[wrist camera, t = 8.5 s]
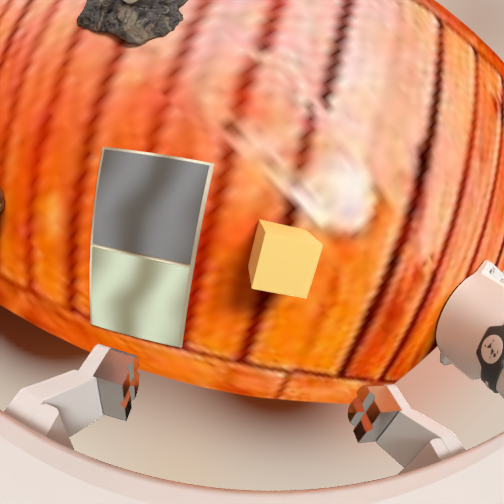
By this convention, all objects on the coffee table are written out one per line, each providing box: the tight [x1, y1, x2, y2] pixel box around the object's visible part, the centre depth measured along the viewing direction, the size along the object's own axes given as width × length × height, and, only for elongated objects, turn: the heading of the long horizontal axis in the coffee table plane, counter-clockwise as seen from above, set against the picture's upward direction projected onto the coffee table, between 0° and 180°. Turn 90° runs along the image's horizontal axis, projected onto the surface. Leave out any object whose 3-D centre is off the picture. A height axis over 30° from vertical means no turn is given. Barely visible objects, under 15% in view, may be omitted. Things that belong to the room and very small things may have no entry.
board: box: [90, 147, 215, 348], centre depth 28 cm, size 12×21×1 cm, turn 167°
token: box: [248, 220, 323, 298], centre depth 26 cm, size 5×5×6 cm
